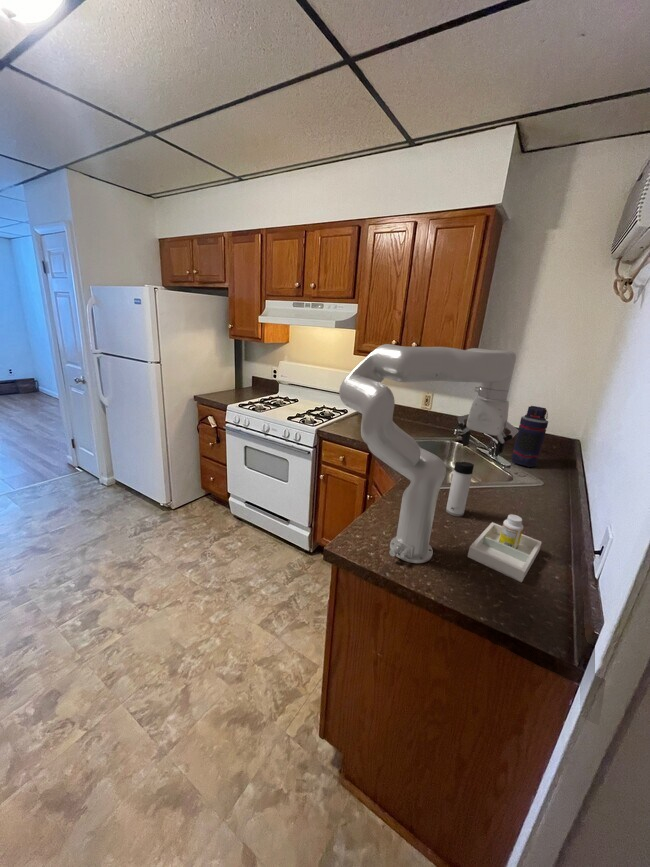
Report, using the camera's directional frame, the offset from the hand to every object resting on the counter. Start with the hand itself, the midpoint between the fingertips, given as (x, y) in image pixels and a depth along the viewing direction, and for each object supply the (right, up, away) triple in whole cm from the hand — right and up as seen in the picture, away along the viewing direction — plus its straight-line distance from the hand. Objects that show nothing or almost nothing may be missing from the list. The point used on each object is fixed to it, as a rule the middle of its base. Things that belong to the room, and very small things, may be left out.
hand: (481, 449), depth 108 cm
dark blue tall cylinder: (+56, -11, +77) cm, 96 cm away
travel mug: (+1, -24, +24) cm, 34 cm away
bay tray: (+8, -32, +1) cm, 33 cm away
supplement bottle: (+10, -31, +5) cm, 33 cm away
